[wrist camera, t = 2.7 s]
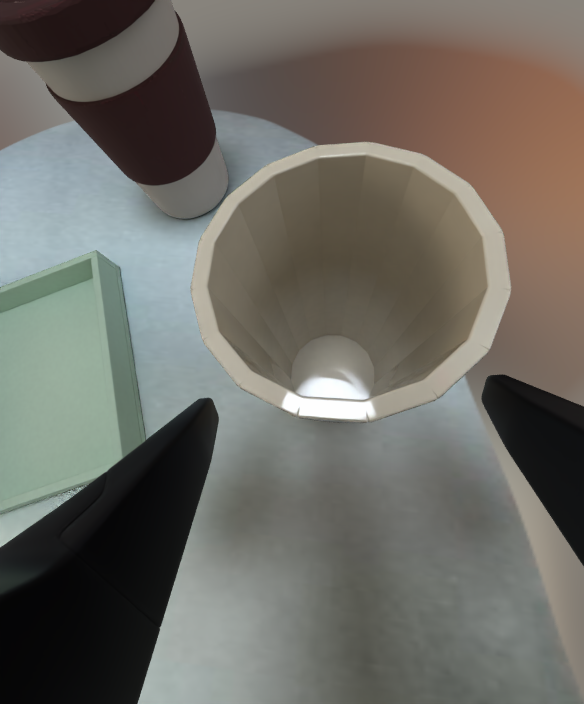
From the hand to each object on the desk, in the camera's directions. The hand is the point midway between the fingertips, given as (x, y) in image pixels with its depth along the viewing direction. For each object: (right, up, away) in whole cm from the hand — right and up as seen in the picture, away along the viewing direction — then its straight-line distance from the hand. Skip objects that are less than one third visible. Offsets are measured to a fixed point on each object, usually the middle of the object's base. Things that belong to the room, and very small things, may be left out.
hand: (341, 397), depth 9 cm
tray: (-22, -1, +13) cm, 25 cm away
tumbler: (+1, 0, +10) cm, 10 cm away
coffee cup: (-11, +17, +16) cm, 26 cm away
